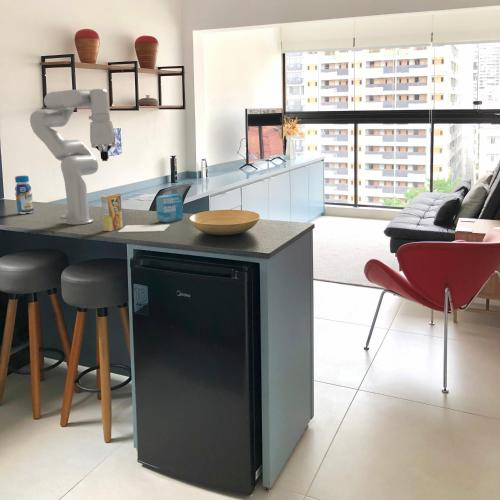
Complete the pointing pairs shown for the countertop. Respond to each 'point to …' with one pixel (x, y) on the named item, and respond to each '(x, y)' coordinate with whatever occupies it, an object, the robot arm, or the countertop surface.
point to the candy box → (111, 212)
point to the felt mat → (144, 228)
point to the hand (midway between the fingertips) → (105, 160)
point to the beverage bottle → (23, 194)
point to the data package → (169, 208)
